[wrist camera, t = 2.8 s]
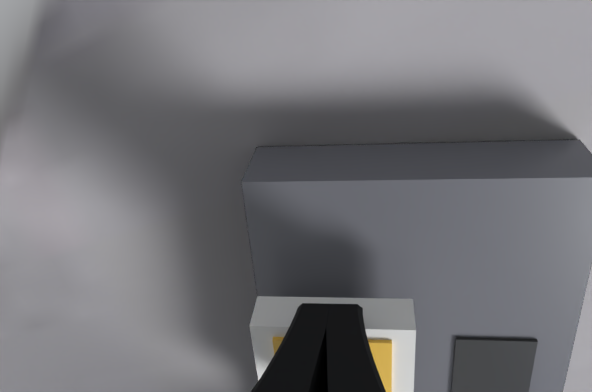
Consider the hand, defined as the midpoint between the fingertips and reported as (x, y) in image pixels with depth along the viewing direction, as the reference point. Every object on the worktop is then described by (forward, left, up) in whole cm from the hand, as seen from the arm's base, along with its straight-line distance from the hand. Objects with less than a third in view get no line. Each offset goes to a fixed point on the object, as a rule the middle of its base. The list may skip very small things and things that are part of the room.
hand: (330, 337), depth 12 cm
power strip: (-7, -2, -4) cm, 9 cm away
